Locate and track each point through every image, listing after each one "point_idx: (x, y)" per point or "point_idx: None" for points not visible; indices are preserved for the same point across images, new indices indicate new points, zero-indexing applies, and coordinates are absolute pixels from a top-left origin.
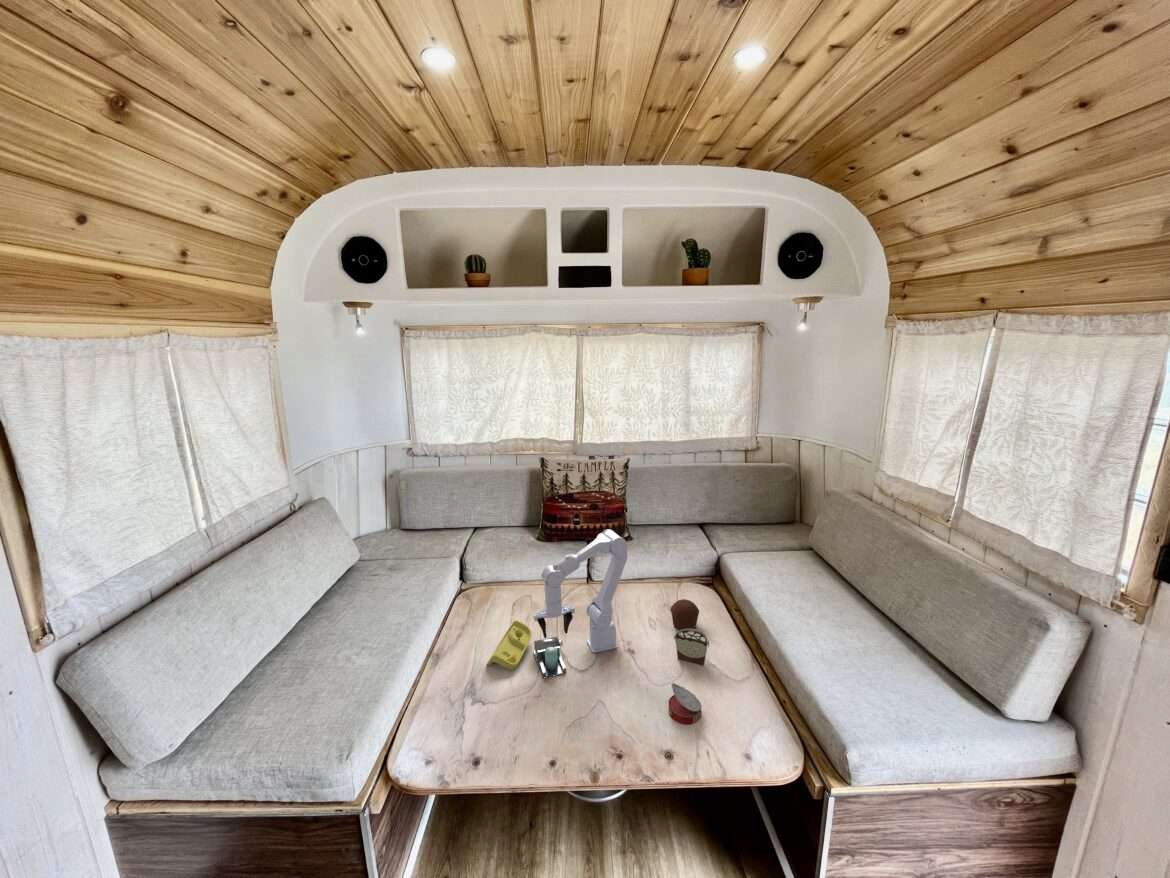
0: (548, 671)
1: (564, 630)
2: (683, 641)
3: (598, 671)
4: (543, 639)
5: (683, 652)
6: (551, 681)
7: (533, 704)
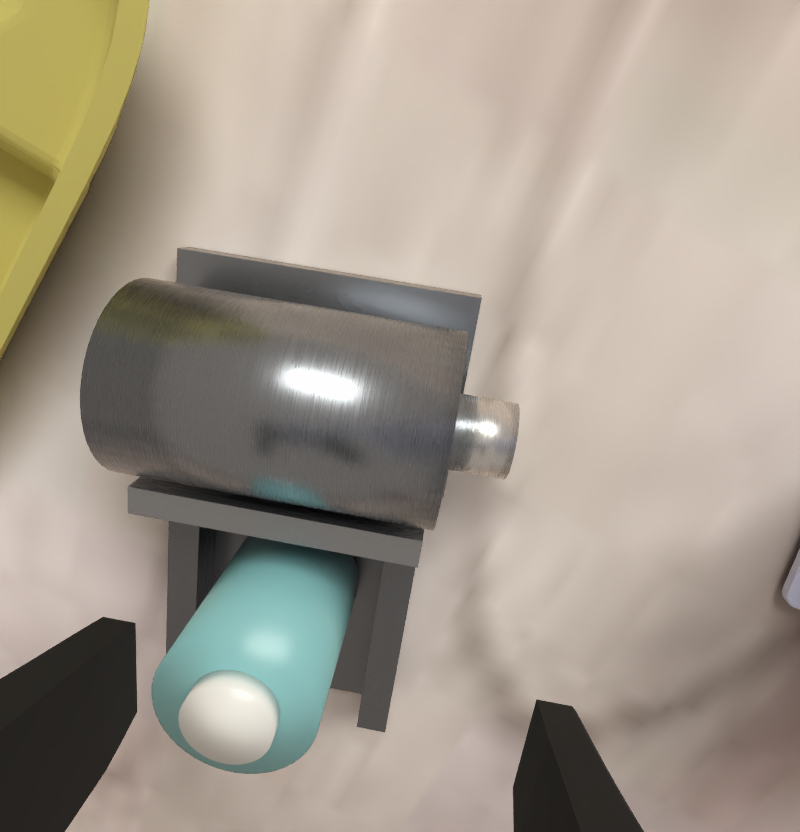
0: None
1: (530, 752)
2: None
3: (654, 797)
4: (225, 389)
5: None
6: None
7: None
